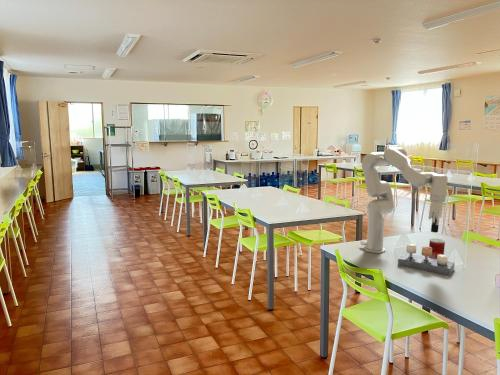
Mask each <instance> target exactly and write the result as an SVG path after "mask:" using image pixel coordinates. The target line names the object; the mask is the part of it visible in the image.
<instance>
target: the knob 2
mask: <svg viewBox="0 0 500 375" xmlns="http://www.w3.org/2000/svg"><path fill="white" fill-rule="evenodd" d="M448 259H449V256H448V255H446V254H444V255H441V254H440V255H437V263H438V264H441V265H447V261H448Z"/></svg>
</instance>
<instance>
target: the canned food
mask: <svg viewBox="0 0 500 375" xmlns="http://www.w3.org/2000/svg"><path fill="white" fill-rule="evenodd" d="M445 241H446V240H443V239H441V238H430V239H429V243H428V244H429V245H428V247H431V248H432V256H428V258H433V259H437V255H440V254H441V255H445V246H446V244H445V243H446V242H445Z"/></svg>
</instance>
